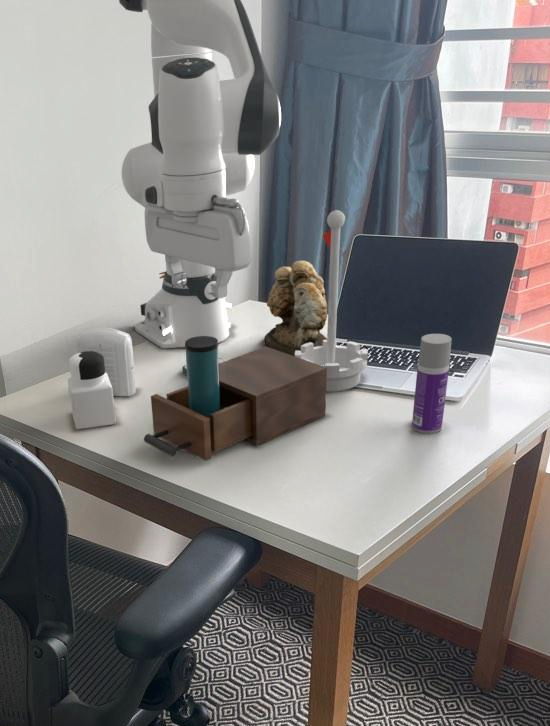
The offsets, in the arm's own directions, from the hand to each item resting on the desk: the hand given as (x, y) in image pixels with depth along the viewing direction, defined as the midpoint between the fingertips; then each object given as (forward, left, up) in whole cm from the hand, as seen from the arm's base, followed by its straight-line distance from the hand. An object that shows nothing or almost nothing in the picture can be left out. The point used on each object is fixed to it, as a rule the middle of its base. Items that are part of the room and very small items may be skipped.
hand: (199, 290), depth 124 cm
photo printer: (-29, 0, -25) cm, 38 cm away
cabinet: (0, +12, -25) cm, 28 cm away
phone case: (-18, +18, -25) cm, 36 cm away
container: (+22, +28, -25) cm, 44 cm away
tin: (0, 0, -23) cm, 23 cm away
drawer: (0, -1, -24) cm, 24 cm away
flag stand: (-3, +32, -25) cm, 41 cm away
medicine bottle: (-21, -9, -25) cm, 34 cm away
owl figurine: (-20, +40, -25) cm, 52 cm away
